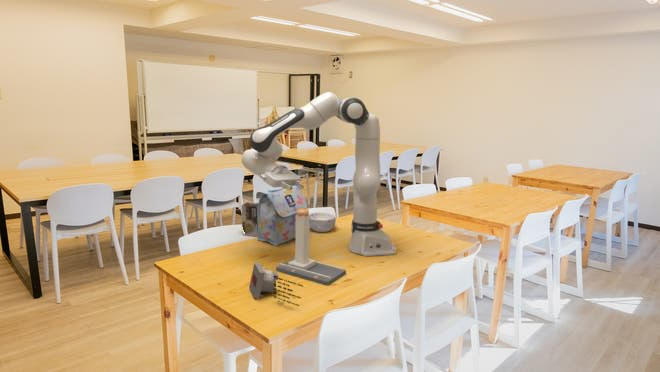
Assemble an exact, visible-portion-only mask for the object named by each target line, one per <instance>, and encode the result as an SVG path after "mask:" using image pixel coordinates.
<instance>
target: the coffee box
mask: <svg viewBox="0 0 660 372" xmlns="http://www.w3.org/2000/svg"><path fill="white" fill-rule="evenodd" d="M258 203H259V202H258ZM258 203H257V202H248V201H247V202H245V203H244V204H241V227H243V230H244V232H245V234H246V235H245V236H247V237H256V238H258Z"/></svg>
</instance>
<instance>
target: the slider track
mask: <svg viewBox="0 0 660 372" xmlns="http://www.w3.org/2000/svg"><path fill="white" fill-rule="evenodd" d="M294 259H295V255H293V258H292V259H289V260H288V261H286V262H285V263H284V262H283V263H281V262H279V263H278V265H277V267H276V268H275V272H279V273H283V274H286V275H290V276H292V277H293V276H294V277H297V278H300V279H303V280H306V281H310V282H313V283H317V284H320V285H323V286H330V285H332V283H335V282H336V281H337V280H339V279H341V278H342V277H343V276H345V275H346V274H347V270H346V269H345V268H343V267H338V266H336V265H331V264H328V263H325V262H320V261H316V265H314V266H312V267H311V268H309V269H307V270H303V269H300V268H296V267H293V266H289V265H288V262H290V261H292V260H294Z"/></svg>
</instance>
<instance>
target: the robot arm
mask: <svg viewBox="0 0 660 372" xmlns="http://www.w3.org/2000/svg"><path fill="white" fill-rule="evenodd" d="M333 117H336V118H337V119H339V120H341V122H344V123H347V124H352V125H354V129H355V142H354V144H355V147H354V149H355V150H354V152H355V153H354V156H355V158H354V159H355V171H354V173H353V176H352V180H353V181H352V192H353V193H352V195H353V198H352V199H353V211H352V221H351V237H350V242H349V246H348V250H349V251H350V252H352V253H354V254H358V255H361V256H364V257H372V256H390V255H396V254H397V248H396V246H395V245H394V244H392V239H391V237H390V235H389V234H387V232H385V231H384V230H383V227H384V226H383V224H382V223H381V222H380V221H379V220H378V219H377V218H378V217H377V216H378V196H377V193H378V191H379V190H380V188H381V163H380V162H381V160H380V159H381V158H380V151H381V150H380V148H381V147H380V145H381V144H380V143H381V127H380V121H379V120H380V119H379V118H378V116H377V115H376V114H374V113H370V112H368V109H367V107H366V105H365V104H364V102H363V101H362V100H361V99H359V98H357V97H351V96H350V97H346V98H339V97H338V96H337V95H336V94H335V93H334V92H332V91H326V92H323V93H322V94H320V95H318V96H316V97H315V98H313V99H312V100H310V101H309V102H307V103H306V104H305V105H303V106H301V107H299V108H295V109H292V110H290V111H287V113H285V114H283V115H281V116H280V117H278V118H276V119H275V120H273V121H271V122H270V123H268V124H265V125H263V126H259V127H258V128H256V129H254V130H253V131H252V132H251V133H250V136H249V142H248V143H249V146H250V147H251V148H250V149H246V150H245V151H243V154H242V156H241V164H242V165H243V167H244V168H245V169H246V170H248V171H249V172H251V173H252V174H254V175H256V176H259V178H260V179H261V180H262V181H263V182H265V183H266V184H267V185H268V186H270V187H272V188H281V187H282V188H285V189H287V190H291V189H292V186H298V188H299V189H300V190H303V189H304V188H305V185H304V184H302V183H301V181H302V178H301V176H299V175H298V174H297V173H295V172H293V171H292V170H289V168H288V167H287V166H286V165H281V164H278V163H277V161H278V160H279V159H280V157H281V156H282V154H283V151H284V150H283V145H282V144H281V143H280V142H279V141H278V139H277V137H278V136H280V135H281V134H283V133H285V132H286V131H288V130H289V129H290V130H291V128H295V127H296V128H298V127H299V128H302V129H305V130H308V131H312V130H315V129H317V128H320V127H321V126H322V125H323V124H325V123H326V122H327V121H329V120H330V119H332V118H333Z"/></svg>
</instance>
